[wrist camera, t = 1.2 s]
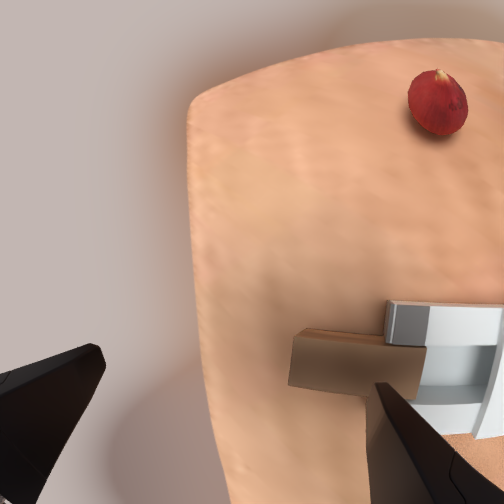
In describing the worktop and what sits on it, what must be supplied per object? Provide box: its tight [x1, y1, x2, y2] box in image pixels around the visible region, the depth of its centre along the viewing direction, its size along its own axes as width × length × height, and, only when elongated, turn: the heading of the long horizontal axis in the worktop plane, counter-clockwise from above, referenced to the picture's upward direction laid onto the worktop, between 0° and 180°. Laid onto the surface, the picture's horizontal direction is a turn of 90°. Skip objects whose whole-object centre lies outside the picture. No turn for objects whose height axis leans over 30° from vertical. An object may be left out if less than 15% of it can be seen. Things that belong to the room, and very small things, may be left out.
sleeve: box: [383, 300, 504, 439], centre depth 15 cm, size 10×14×6 cm
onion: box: [408, 69, 468, 135], centre depth 17 cm, size 6×6×8 cm
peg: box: [288, 328, 427, 400], centre depth 19 cm, size 4×10×4 cm, turn 85°
